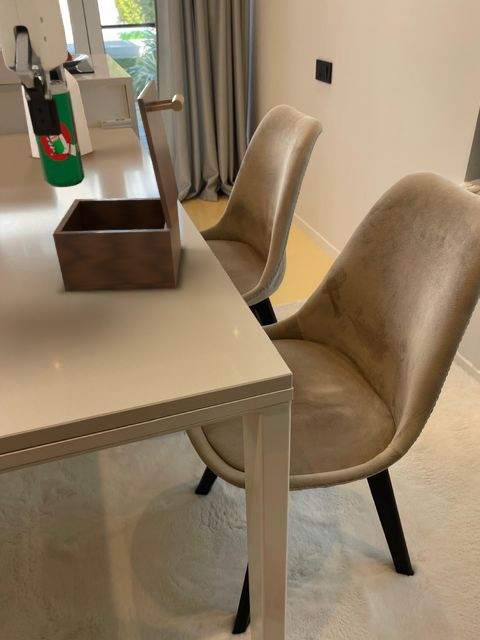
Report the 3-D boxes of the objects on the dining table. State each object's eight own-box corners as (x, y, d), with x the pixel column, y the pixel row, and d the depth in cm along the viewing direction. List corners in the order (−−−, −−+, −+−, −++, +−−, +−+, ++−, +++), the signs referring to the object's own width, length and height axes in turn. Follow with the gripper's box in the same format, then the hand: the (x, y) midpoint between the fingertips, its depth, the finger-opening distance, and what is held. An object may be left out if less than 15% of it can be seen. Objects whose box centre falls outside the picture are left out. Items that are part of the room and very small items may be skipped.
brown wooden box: (65, 291, 92) (52, 233, 86) (85, 251, 105) (75, 199, 99) (175, 288, 92) (170, 231, 87) (181, 248, 106) (176, 197, 100)
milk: (62, 147, 167) (43, 49, 153) (92, 151, 163) (76, 51, 149) (32, 156, 158) (9, 53, 144) (63, 162, 154) (43, 56, 140)
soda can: (61, 175, 76) (42, 78, 69) (93, 179, 75) (76, 80, 68) (37, 185, 72) (14, 84, 65) (69, 190, 71) (49, 87, 64)
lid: (136, 99, 76) (176, 93, 76) (149, 80, 89) (182, 75, 89) (167, 228, 87) (201, 223, 86) (174, 194, 100) (204, 190, 100)
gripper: (11, -48, 66) (44, 115, 77) (-50, -53, 52) (0, 147, 63) (74, -47, 67) (99, 115, 77) (31, -53, 53) (68, 146, 63)
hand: (54, 127), depth 70 cm, fingers closed on soda can, 5 cm apart
